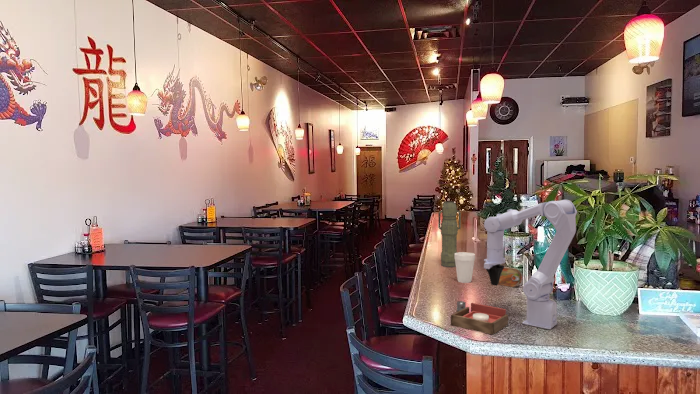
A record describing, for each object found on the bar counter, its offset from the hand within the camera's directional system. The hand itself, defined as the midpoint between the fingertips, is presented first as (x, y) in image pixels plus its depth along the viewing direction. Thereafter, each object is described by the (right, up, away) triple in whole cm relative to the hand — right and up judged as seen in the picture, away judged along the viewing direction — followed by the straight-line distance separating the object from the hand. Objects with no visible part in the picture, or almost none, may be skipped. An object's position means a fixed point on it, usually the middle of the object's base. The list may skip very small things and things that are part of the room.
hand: (494, 284), depth 180 cm
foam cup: (0, -7, +49) cm, 49 cm away
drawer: (-9, -11, -13) cm, 19 cm away
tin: (+17, -8, +41) cm, 45 cm away
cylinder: (-12, -10, +2) cm, 16 cm away
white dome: (-9, -10, -13) cm, 19 cm away
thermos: (0, -5, +84) cm, 84 cm away
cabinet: (-9, -11, -13) cm, 19 cm away
